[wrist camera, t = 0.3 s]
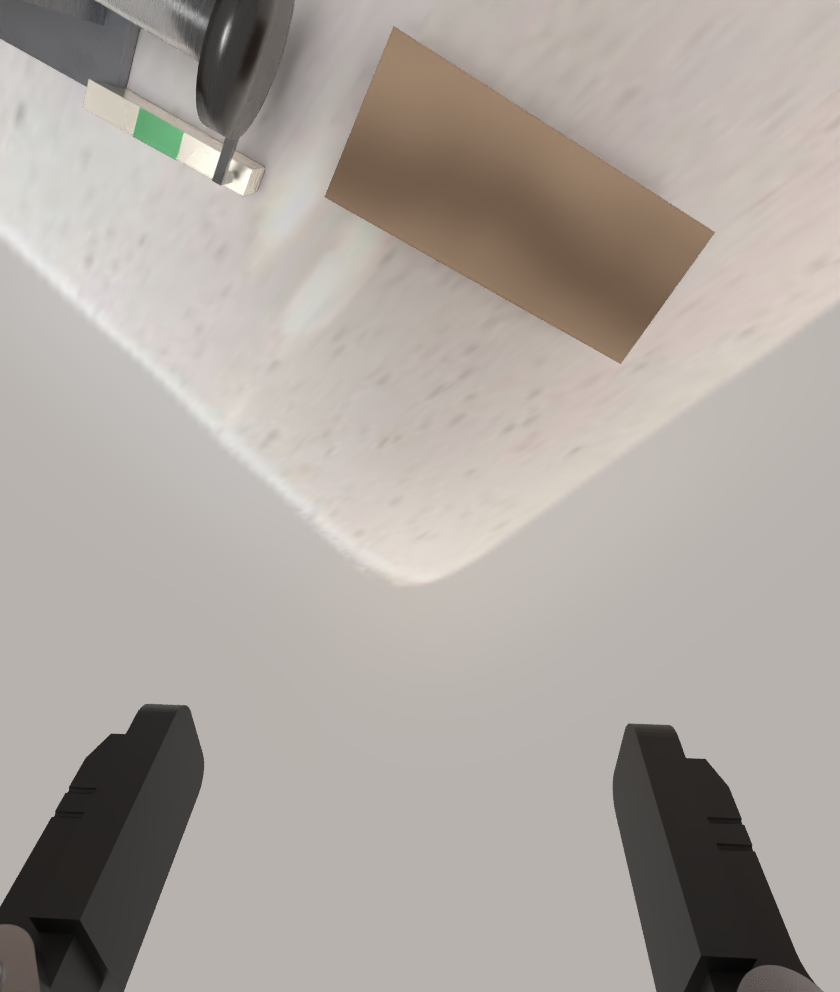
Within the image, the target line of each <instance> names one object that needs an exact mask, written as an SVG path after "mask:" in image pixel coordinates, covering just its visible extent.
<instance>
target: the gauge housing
mask: <svg viewBox="0 0 840 992" xmlns="http://www.w3.org/2000/svg"><path fill="white" fill-rule="evenodd" d="M139 30H140V27H139V26H138V25H136V24H134V23H132V22H131V21H129V20H127V19H126V18H124V17H122V16H121V15H119V14H117V13H115V12H114V11H112V10H110V9H109V8H107V7H105V6H104V5H102V4H100V3H98V2H97V1H95V0H0V38H1V39H2V40H4V41H6V42H8V43H10V44H11V45H13V46H15V47H17V48H19V49H20V50H22V51H24V52H26V53H27V54H29V55H31V56H33V57H35V58H36V59H38V60H40V61H42V62H44V63H45V64H47V65H49V66H51V67H53V68H54V69H56V70H58V71H60V72H61V73H63V74H65V75H67V76H69V77H70V78H72V79H74V80H76V81H78V82H79V83H81V84H83V85H85V86H87V89H86V94H85V99H84V104H83V108H84V109H86V110H88V111H90V112H91V113H93V114H95V115H97V116H99V117H101V118H102V119H104V120H106V121H108V122H110V123H111V124H113V125H115V126H117V127H119V128H121V129H122V130H124V131H126V132H128V133H130V134H131V135H133V137H135V138H137V139H139V140H140V141H142V142H144V143H146V144H148V145H150V146H151V147H153V148H155V149H157V150H159V151H160V152H162V153H164V154H166V155H168V156H170V157H171V158H173V159H175V160H179V161H180V162H182V163H184V164H186V165H188V166H190V167H191V168H193V169H195V170H197V171H199V172H200V173H202V174H204V175H206V176H208V177H209V178H211V179H213V176H214V173H215V170H216V166H217V163H218V160H219V157H220V154H221V151H222V148H223V143H221V142H219V141H217V140H216V139H214V138H212V137H210V136H209V135H207V134H205V133H203V132H201V131H200V130H198V129H196V128H194V127H193V126H191V125H189V124H187V123H186V122H184V121H182V120H180V119H178V118H177V117H175V116H173V115H171V114H170V113H168V112H166V111H164V110H163V109H161V108H159V107H157V106H155V105H154V104H152V103H150V102H148V101H147V100H145V99H143V98H141V97H140V96H138V95H136V94H134V93H132V92H131V91H129V90H127V89H126V85H127V81H128V77H129V72H130V68H131V64H132V60H133V56H134V51H135V47H136V43H137V39H138V35H139ZM264 170H265V167H263V166H262V165H260V164H258V163H256V162H255V161H253V160H251V159H249V158H247V157H246V156H244V155H242V154H240V153H239V152H237V151H235V152H234V155H233V158H232V161H231V164H230V167H229V171H231V172H232V173H234V174H235V176H234V179H233V182H232V183H229V184H224V186H226V187H228V188H229V189H231V190H233V191H235V192H237V193H239V194H240V195H242V196H244V195H247V194H251V193H254V192H257V190H258V187H259V184H260V181H261V179H262V176H263V173H264Z"/></svg>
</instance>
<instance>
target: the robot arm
mask: <svg viewBox="0 0 840 992" xmlns="http://www.w3.org/2000/svg"><path fill="white" fill-rule="evenodd" d="M203 771H204V758H203V753H202V749H201V746H200V743H199V739H198V735H197V732H196V728H195V725H194V721H193V718H192V715H191V711H190V709H189V707H188V706H185V705H162V704H145V705H144V706H142V707H141V708H140V710H139V711H138V713H137V714H136V716H135V718H134V720H133V722H132V724H131V726H130V728H129V729H128V731H127V733H126V734H110V735H109V736H108V737H107V738H106V739H105V740H104V741H103V742H102V743H101V744H100V745H99V746H98V747H97V748H96V749H95V750H94V751H93V752H92V753H91V754H89V756H87V757H86V759H85V760H84V762H83V764H82V765H81V767H80V769H79V771H78V772H77V774H76V776H75V778H74V779H73V781H72V783H71V785H70V786H69V792H68V793H65V795H64V797H63V799H62V800H61V802H60V804H59V805H58V807H57V809H56V811H55V812H56V813H55V816H54V817H52V818H51V819H50V821H49V823H48V825H47V826H46V828H45V830H44V831H43V833H42V835H41V837H40V838H39V840H38V842H37V844H36V845H35V847H34V849H33V851H32V852H31V854H30V856H29V858H28V859H27V861H26V863H25V865H24V866H23V868H22V870H21V872H20V873H19V875H18V877H17V878H16V880H15V882H14V884H13V885H12V887H11V889H10V891H9V893H8V894H7V896H6V898H5V899H4V901H3V903H2V905H1V906H0V992H124V989H125V987H126V984H127V981H128V979H129V976H130V974H131V971H132V968H133V966H134V963H135V960H136V958H137V955H138V952H139V950H140V947H141V945H142V942H143V939H144V937H145V934H146V931H147V929H148V926H149V923H150V921H151V918H152V916H153V913H154V910H155V907H156V905H157V902H158V900H159V897H160V894H161V892H162V889H163V886H164V883H165V881H166V879H167V876H168V873H169V871H170V868H171V865H172V863H173V860H174V857H175V855H176V852H177V849H178V847H179V844H180V841H181V839H182V836H183V834H184V831H185V828H186V825H187V823H188V820H189V818H190V815H191V812H192V810H193V807H194V805H195V802H196V799H197V797H198V794H199V791H200V788H201V784H202V779H203ZM613 800H614V807H615V812H616V817H617V821H618V826H619V830H620V834H621V839H622V843H623V847H624V852H625V856H626V861H627V865H628V869H629V873H630V877H631V882H632V886H633V891H634V895H635V900H636V904H637V908H638V912H639V917H640V921H641V926H642V930H643V935H644V939H645V943H646V948H647V952H648V956H649V961H650V965H651V969H652V974H653V978H654V982H655V987H656V991H657V992H823V991H822V990H821V989H820V988H819V987H818V986H817V985H816V984H815V983H814V981H813V980H812V979H811V978H810V976H809V975H808V973H807V972H806V970H805V968H804V967H803V965H802V964H801V962H800V960H799V958H798V955H797V954H796V951H795V949H794V946H793V944H792V941H791V939H790V937H789V934H788V932H787V929H786V927H785V924H784V922H783V919H782V917H781V914H780V912H779V909H778V907H777V904H776V902H775V900H774V897H773V895H772V892H771V890H770V887H769V885H768V882H767V880H766V877H765V875H764V873H763V870H762V868H761V865H760V863H759V860H758V858H757V856H756V853H755V852H753V850H752V843H751V841H750V838H749V836H748V833H747V831H746V828H745V826H744V825H742V822H741V816H740V814H739V811H738V809H737V806H736V804H735V801H734V799H733V796H732V794H731V791H730V789H729V787H728V786H727V784H726V783H725V782H724V781H723V779H722V778H721V777H720V776H719V775H718V774H717V772H716V771H715V770H714V769H713V768H712V766H711V765H710V764H709V763H708V762H707V760H706V759H692V758H691V759H690V758H686V757H685V755H684V752H683V749H682V746H681V743H680V741H679V738H678V735H677V733H676V731H675V729H674V728H673V727H672V726H670V725H651V724H628V725H627V726H626V729H625V732H624V736H623V740H622V744H621V748H620V752H619V755H618V759H617V763H616V767H615V771H614V776H613Z"/></svg>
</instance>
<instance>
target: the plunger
mask: <svg viewBox="0 0 840 992" xmlns="http://www.w3.org/2000/svg"><path fill="white" fill-rule="evenodd" d="M95 1H97V2H98V3H100V4H102V5H104V6H105V7H107V8H109V9H110V10H112V11H114V12H115V13H117V14H119V15H121V16H122V17H124V18H126V19H127V20H129V21H131V22H132V23H134V24H136V25H138V26H139V27H141V28H143V29H144V30H146V31H148V32H149V33H151V34H153V35H155V36H156V37H158V38H160V39H161V40H163V41H165V42H166V43H168V44H170V45H171V46H173V47H175V48H177V49H178V50H180V51H182V52H183V53H185V54H187V55H188V56H190V57H192V58H194V59H195V60H197V61H199V66H198V74H197V84H196V105H197V112H198V116H199V119H200V121H201V122H202V123H203V124H204V125H205V126H207V127H209V128H210V129H212V130H214V131H216V132H217V133H219V134H221V135H223V136H225V137H226V138H225V141H224V144H223V148H222V151H221V154H220V157H219V160H218V163H217V166H216V170H215V173H214V176H213V179H212V181H214V182H216V183H218V184H219V185H224V184H229V183H232V182H233V179H234V176H235V174H234V173H232V172H231V171H229V167H230V164H231V161H232V158H233V155H234V152H235V149H236V146H237V143H238V140H239V138H240V137H241V136H242V135H243V134H244V133H245V132H246V131H247V129H248V128H249V127H250V125H251V124H252V122H253V121H254V119H255V118H256V116H257V114H258V112H259V111H260V109H261V107H262V105H263V103H264V101H265V98H266V96H267V94H268V92H269V89H270V87H271V85H272V82H273V80H274V77H275V75H276V72H277V69H278V66H279V63H280V60H281V57H282V54H283V51H284V47H285V44H286V40H287V36H288V32H289V28H290V24H291V19H292V13H293V7H294V0H95Z"/></svg>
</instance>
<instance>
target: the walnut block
mask: <svg viewBox="0 0 840 992" xmlns="http://www.w3.org/2000/svg"><path fill="white" fill-rule="evenodd" d="M325 197H326V198H327V199H329V200H331V201H333V202H334V203H336V204H338V205H340V206H341V207H343V208H345V209H347V210H349V211H350V212H352V213H354V214H356V215H357V216H359V217H361V218H363V219H365V220H366V221H368V222H370V223H372V224H373V225H375V226H377V227H379V228H380V229H382V230H384V231H386V232H388V233H389V234H391V235H393V236H395V237H396V238H398V239H400V240H402V241H404V242H405V243H407V244H409V245H411V246H412V247H414V248H416V249H418V250H420V251H421V252H423V253H425V254H427V255H428V256H430V257H432V258H434V259H435V260H437V261H439V262H441V263H443V264H444V265H446V266H448V267H450V268H451V269H453V270H455V271H457V272H459V273H460V274H462V275H464V276H466V277H467V278H469V279H471V280H473V281H474V282H476V283H478V284H480V285H482V286H483V287H485V288H487V289H489V290H490V291H492V292H494V293H496V294H498V295H499V296H501V297H503V298H505V299H506V300H508V301H510V302H512V303H513V304H515V305H517V306H519V307H521V308H522V309H524V310H526V311H528V312H529V313H531V314H533V315H535V316H537V317H538V318H540V319H542V320H544V321H545V322H547V323H549V324H551V325H553V326H554V327H556V328H558V329H560V330H561V331H563V332H565V333H567V334H568V335H570V336H572V337H574V338H576V339H577V340H579V341H581V342H583V343H584V344H586V345H588V346H590V347H592V348H593V349H595V350H597V351H599V352H600V353H602V354H604V355H606V356H607V357H609V358H611V359H613V360H615V361H616V362H618V363H620V364H621V363H622V361H623V360H624V358H625V357H626V356H627V354H628V353H629V352H630V350H631V349H632V347H633V346H634V345H635V343H636V342H637V340H638V339H639V338H640V336H641V335H642V333H643V332H644V331H645V329H646V328H647V326H648V325H649V324H650V322H651V321H652V319H653V318H654V317H655V315H656V314H657V312H658V311H659V310H660V308H661V307H662V306H663V304H664V303H665V301H666V300H667V299H668V297H669V296H670V294H671V293H672V292H673V290H674V289H675V287H676V286H677V285H678V283H679V282H680V280H681V279H682V278H683V276H684V275H685V273H686V272H687V271H688V269H689V268H690V266H691V265H692V264H693V262H694V261H695V260H696V258H697V257H698V255H699V254H700V253H701V251H702V250H703V248H704V247H705V246H706V244H707V243H708V241H709V240H710V239H711V237H712V236H713V234H714V233H715V232H714V231H712V230H711V229H709V228H707V227H706V226H704V225H703V224H701V223H700V222H698V221H697V220H695V219H693V218H692V217H690V216H689V215H687V214H686V213H684V212H682V211H681V210H679V209H678V208H676V207H675V206H673V205H672V204H670V203H668V202H667V201H665V200H664V199H662V198H661V197H659V196H658V195H656V194H654V193H653V192H651V191H650V190H648V189H647V188H645V187H644V186H642V185H640V184H639V183H637V182H636V181H634V180H633V179H631V178H629V177H628V176H626V175H625V174H623V173H622V172H620V171H619V170H617V169H615V168H614V167H612V166H611V165H609V164H608V163H606V162H605V161H603V160H601V159H600V158H598V157H597V156H595V155H594V154H592V153H591V152H589V151H587V150H586V149H584V148H583V147H581V146H580V145H578V144H576V143H575V142H573V141H572V140H570V139H569V138H567V137H566V136H564V135H562V134H561V133H559V132H558V131H556V130H555V129H553V128H552V127H550V126H548V125H547V124H545V123H544V122H542V121H541V120H539V119H538V118H536V117H534V116H533V115H531V114H530V113H528V112H527V111H525V110H523V109H522V108H520V107H519V106H517V105H516V104H514V103H513V102H511V101H509V100H508V99H506V98H505V97H503V96H502V95H500V94H499V93H497V92H495V91H494V90H492V89H491V88H489V87H488V86H486V85H485V84H483V83H481V82H480V81H478V80H477V79H475V78H474V77H472V76H470V75H469V74H467V73H466V72H464V71H463V70H461V69H460V68H458V67H456V66H455V65H453V64H452V63H450V62H449V61H447V60H446V59H444V58H442V57H441V56H439V55H438V54H436V53H435V52H433V51H432V50H430V49H428V48H427V47H425V46H424V45H422V44H421V43H419V42H417V41H416V40H414V39H413V38H411V37H410V36H408V35H407V34H405V33H403V32H402V31H400V30H399V29H397V28H396V27H393V29H392V32H391V34H390V37H389V39H388V42H387V44H386V47H385V49H384V51H383V54H382V56H381V59H380V61H379V64H378V66H377V69H376V71H375V74H374V76H373V79H372V81H371V84H370V86H369V89H368V91H367V93H366V96H365V98H364V101H363V103H362V106H361V108H360V111H359V113H358V116H357V118H356V121H355V123H354V126H353V128H352V131H351V133H350V136H349V138H348V140H347V143H346V145H345V148H344V150H343V153H342V155H341V158H340V160H339V163H338V165H337V168H336V170H335V173H334V175H333V178H332V180H331V182H330V185H329V187H328V190H327V192H326V195H325Z"/></svg>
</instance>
